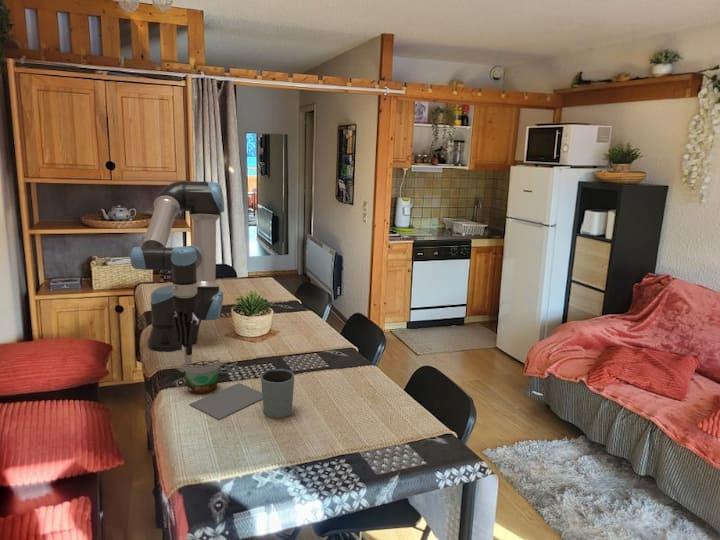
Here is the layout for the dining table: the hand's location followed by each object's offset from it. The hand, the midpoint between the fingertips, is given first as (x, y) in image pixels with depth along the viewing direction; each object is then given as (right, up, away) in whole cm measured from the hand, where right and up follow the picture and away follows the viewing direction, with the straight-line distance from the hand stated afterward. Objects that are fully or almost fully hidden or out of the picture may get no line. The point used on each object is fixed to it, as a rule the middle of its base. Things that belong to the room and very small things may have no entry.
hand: (187, 363), depth 178 cm
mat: (+16, -10, -9) cm, 21 cm away
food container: (+7, -9, -4) cm, 12 cm away
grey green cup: (+32, -13, -14) cm, 37 cm away
